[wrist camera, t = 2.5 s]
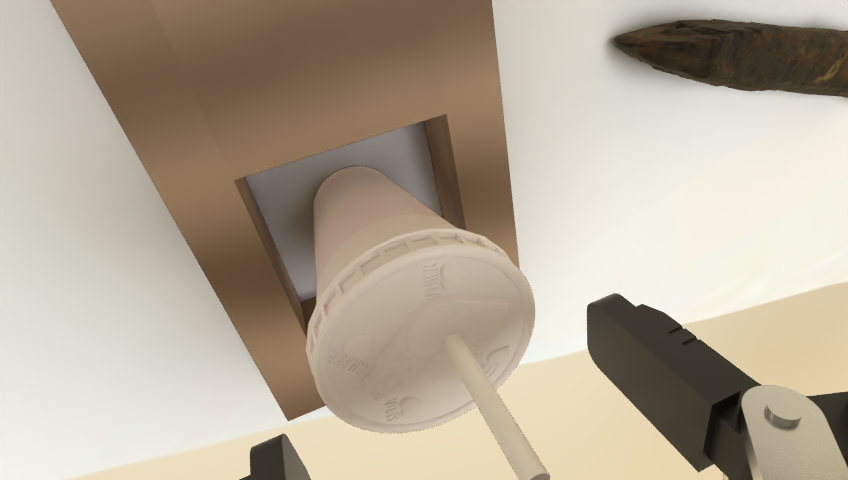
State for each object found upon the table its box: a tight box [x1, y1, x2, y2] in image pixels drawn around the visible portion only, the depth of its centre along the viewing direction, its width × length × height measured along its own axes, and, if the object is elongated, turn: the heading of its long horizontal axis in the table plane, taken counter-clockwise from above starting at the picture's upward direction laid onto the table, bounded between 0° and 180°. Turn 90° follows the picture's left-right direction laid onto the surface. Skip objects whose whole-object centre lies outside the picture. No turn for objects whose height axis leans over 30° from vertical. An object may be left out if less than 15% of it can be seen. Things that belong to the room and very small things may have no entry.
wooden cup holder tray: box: [50, 0, 520, 421], centre depth 15 cm, size 30×12×3 cm, turn 12°
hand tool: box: [615, 19, 848, 97], centre depth 22 cm, size 19×4×5 cm, turn 82°
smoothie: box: [306, 166, 550, 480], centre depth 15 cm, size 6×6×14 cm
